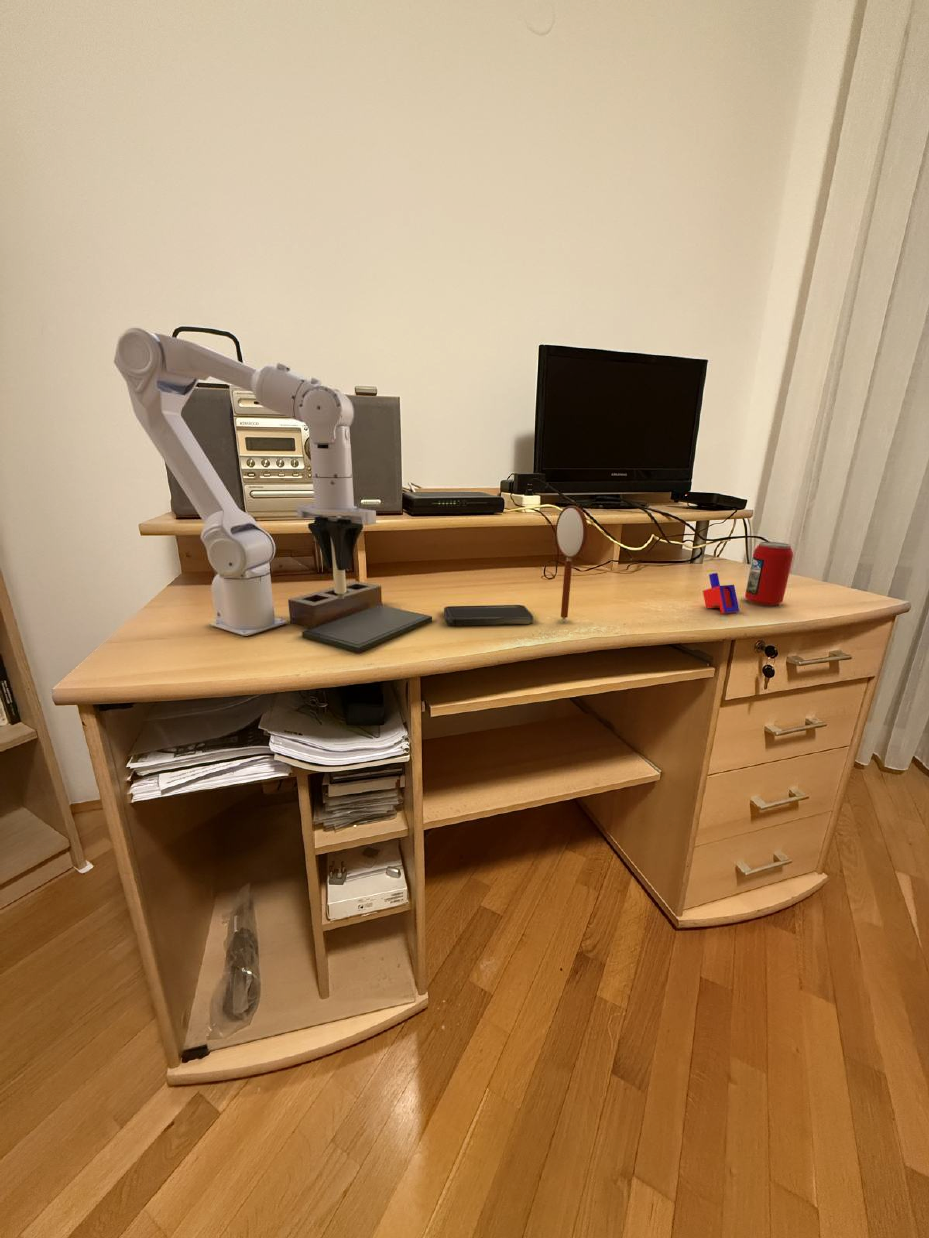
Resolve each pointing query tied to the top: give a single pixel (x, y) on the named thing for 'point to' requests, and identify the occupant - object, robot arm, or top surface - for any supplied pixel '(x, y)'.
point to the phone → (487, 615)
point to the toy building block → (721, 596)
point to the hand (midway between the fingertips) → (338, 568)
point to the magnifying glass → (570, 545)
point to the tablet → (367, 628)
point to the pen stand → (333, 604)
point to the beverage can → (769, 573)
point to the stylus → (338, 577)
